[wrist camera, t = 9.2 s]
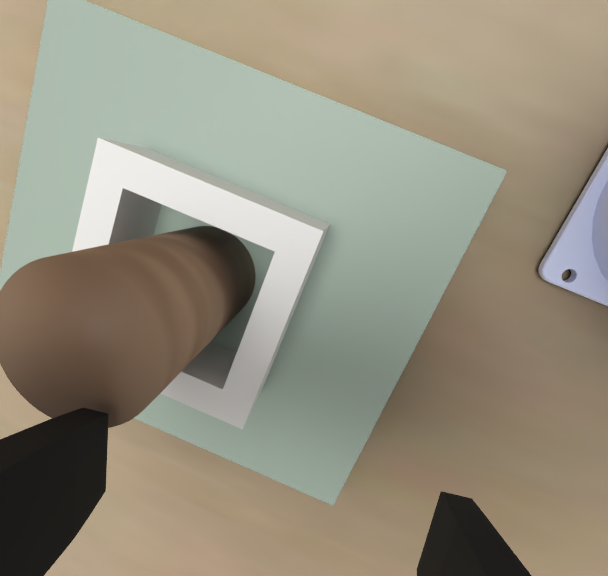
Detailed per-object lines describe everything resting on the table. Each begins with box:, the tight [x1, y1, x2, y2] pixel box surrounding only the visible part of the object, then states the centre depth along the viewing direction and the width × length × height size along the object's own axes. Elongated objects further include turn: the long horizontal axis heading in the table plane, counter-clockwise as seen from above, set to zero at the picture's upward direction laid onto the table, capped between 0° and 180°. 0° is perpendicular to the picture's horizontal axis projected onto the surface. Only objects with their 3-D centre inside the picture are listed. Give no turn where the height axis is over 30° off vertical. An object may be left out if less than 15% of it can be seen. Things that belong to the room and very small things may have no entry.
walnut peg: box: [0, 226, 255, 428], centre depth 12 cm, size 4×4×8 cm
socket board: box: [0, 0, 507, 506], centre depth 15 cm, size 18×16×4 cm
